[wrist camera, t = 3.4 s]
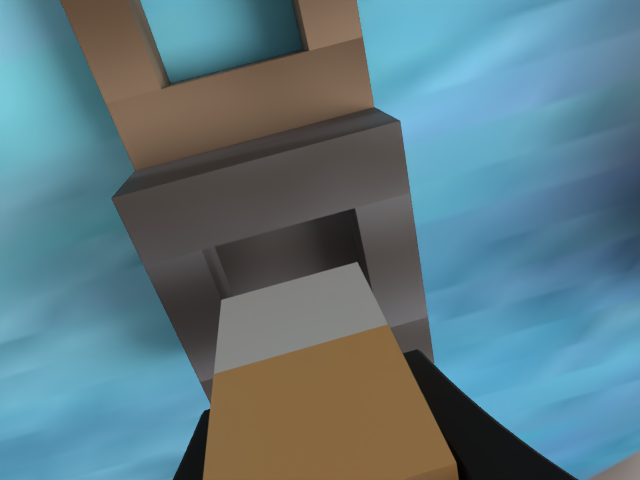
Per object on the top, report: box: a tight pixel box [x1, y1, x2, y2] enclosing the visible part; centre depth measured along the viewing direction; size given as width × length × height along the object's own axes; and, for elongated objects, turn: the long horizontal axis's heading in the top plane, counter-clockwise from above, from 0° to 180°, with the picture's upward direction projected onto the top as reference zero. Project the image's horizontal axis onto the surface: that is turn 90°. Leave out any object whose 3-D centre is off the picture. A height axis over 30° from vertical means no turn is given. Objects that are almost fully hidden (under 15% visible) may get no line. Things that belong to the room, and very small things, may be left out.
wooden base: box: [60, 0, 434, 404], centre depth 15 cm, size 20×9×5 cm, turn 13°
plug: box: [203, 262, 459, 480], centre depth 10 cm, size 4×4×6 cm
